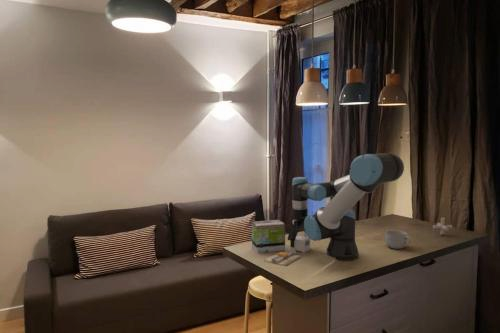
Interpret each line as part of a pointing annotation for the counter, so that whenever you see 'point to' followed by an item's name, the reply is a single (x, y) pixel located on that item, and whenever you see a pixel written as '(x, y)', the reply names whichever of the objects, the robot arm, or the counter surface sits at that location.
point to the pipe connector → (442, 226)
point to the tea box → (268, 236)
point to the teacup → (396, 239)
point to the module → (302, 244)
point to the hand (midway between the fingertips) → (300, 249)
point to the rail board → (283, 258)
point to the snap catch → (283, 254)
